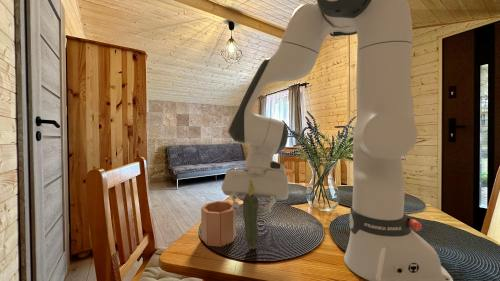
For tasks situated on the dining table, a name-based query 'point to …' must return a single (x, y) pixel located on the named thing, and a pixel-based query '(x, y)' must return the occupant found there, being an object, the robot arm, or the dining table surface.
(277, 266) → the dining table surface
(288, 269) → the dining table surface
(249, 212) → the vegetable
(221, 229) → the crock
